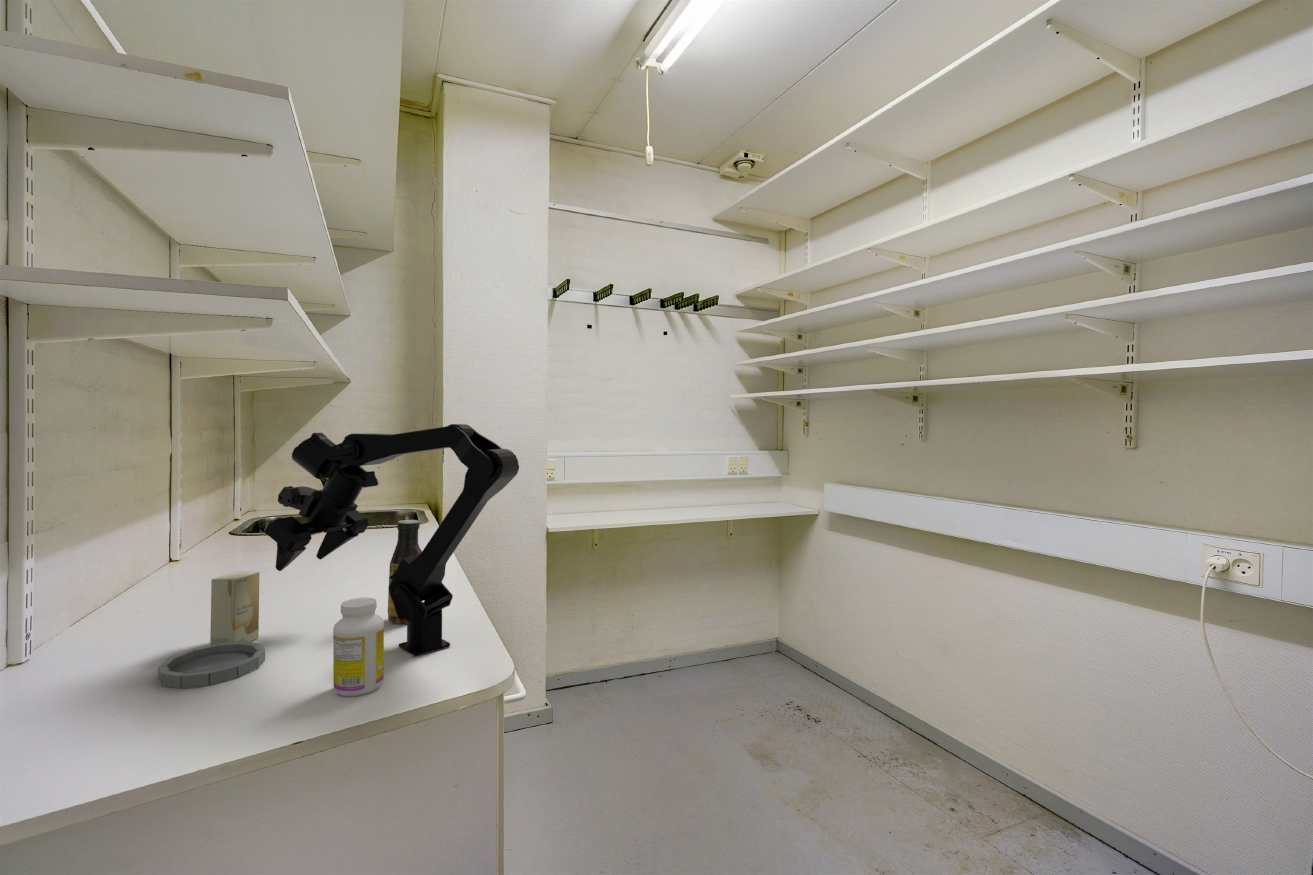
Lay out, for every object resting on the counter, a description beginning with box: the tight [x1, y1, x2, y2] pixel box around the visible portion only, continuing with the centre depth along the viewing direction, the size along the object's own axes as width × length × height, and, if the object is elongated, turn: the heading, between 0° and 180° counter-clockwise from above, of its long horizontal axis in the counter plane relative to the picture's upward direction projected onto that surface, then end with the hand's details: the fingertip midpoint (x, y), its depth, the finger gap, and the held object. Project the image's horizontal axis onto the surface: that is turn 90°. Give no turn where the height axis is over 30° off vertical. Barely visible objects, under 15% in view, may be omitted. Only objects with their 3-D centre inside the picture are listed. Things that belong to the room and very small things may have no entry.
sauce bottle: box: [387, 519, 423, 625], centre depth 114 cm, size 6×6×20 cm
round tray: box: [157, 642, 266, 689], centre depth 91 cm, size 13×13×2 cm
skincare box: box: [209, 570, 260, 646], centre depth 101 cm, size 6×4×12 cm
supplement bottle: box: [332, 597, 385, 698], centre depth 85 cm, size 7×7×13 cm
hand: (299, 563), depth 106 cm, fingers open, 9 cm apart
